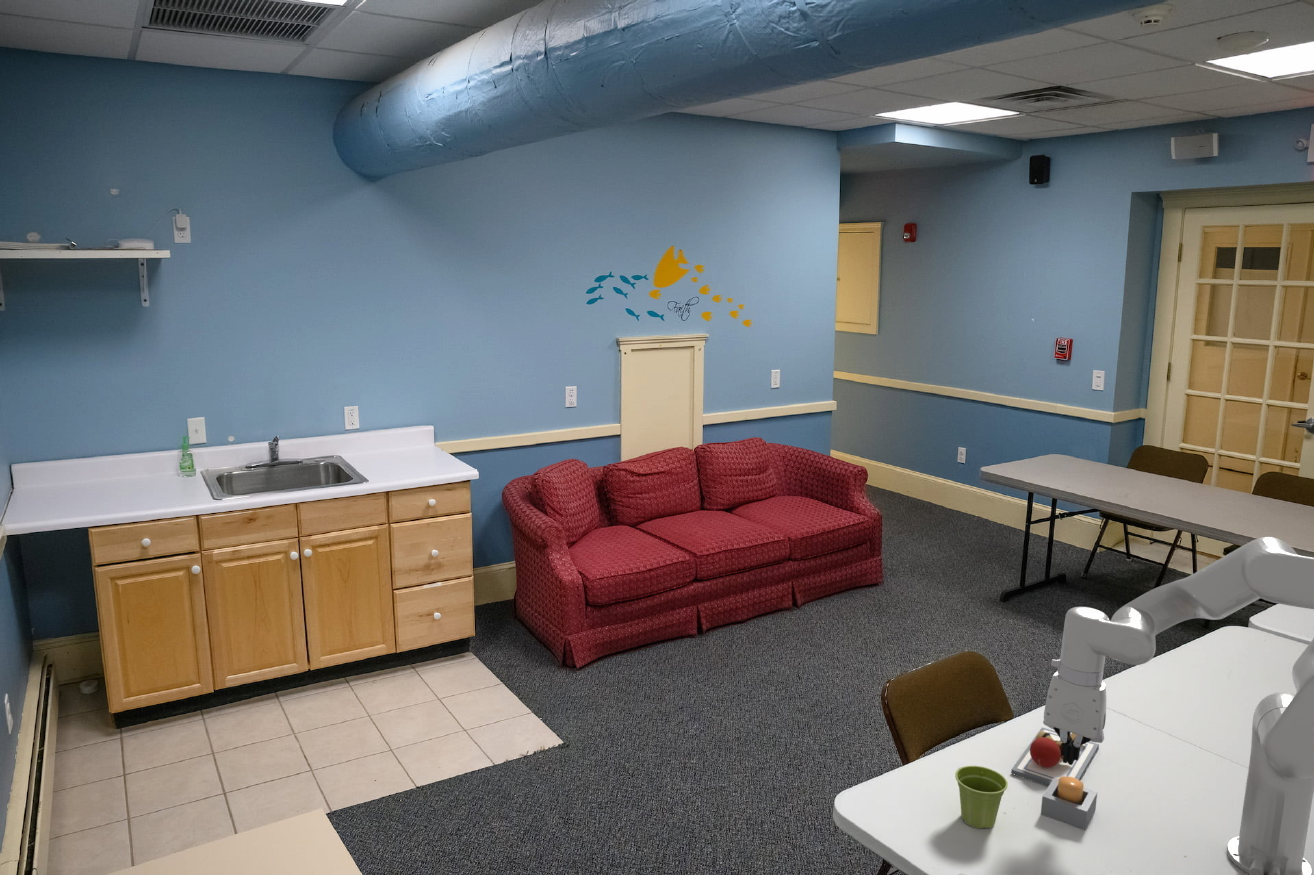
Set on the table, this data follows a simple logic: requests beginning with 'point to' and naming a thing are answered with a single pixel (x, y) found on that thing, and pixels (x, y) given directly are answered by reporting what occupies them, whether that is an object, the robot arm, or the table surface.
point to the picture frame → (1046, 775)
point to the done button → (1070, 789)
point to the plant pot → (980, 794)
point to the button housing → (1068, 807)
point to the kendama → (1046, 750)
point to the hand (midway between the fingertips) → (1069, 760)
